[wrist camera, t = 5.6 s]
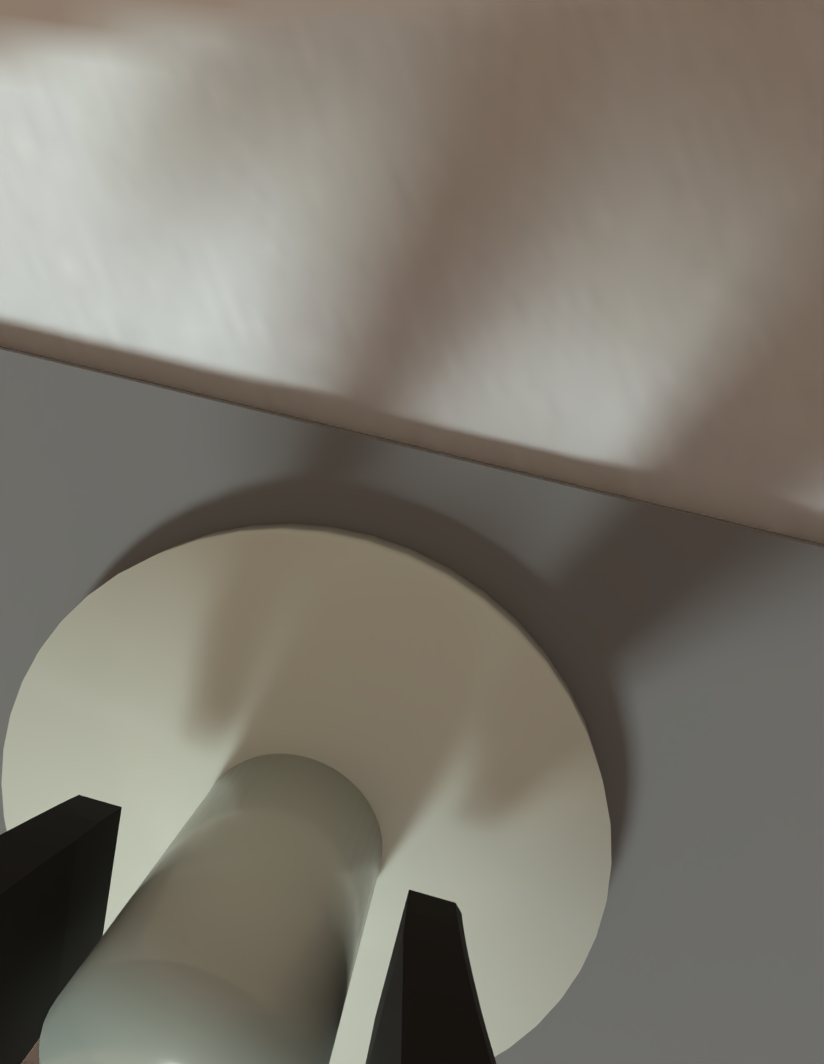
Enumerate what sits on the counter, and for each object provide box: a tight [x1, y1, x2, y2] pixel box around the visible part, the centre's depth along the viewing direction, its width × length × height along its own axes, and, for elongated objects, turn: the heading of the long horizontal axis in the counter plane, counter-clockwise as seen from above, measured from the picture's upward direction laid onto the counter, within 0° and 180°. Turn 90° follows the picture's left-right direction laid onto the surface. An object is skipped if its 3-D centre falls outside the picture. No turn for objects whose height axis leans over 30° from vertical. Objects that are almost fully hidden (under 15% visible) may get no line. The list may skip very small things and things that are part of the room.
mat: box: [0, 346, 824, 1064], centre depth 12 cm, size 18×12×1 cm, turn 77°
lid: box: [1, 523, 612, 1064], centre depth 9 cm, size 10×10×5 cm
